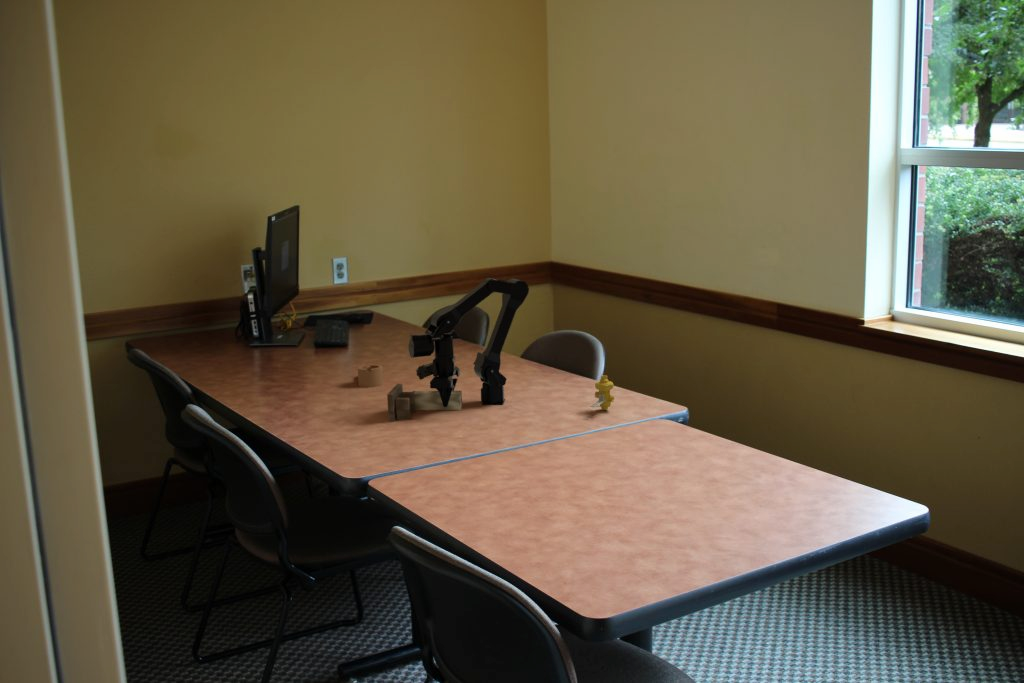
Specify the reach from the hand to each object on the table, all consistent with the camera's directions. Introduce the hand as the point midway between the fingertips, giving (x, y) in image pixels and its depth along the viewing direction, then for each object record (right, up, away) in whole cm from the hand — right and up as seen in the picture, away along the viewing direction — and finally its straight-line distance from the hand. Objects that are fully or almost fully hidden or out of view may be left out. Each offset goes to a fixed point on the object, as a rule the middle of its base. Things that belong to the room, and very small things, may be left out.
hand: (446, 405), depth 300 cm
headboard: (-12, -3, -7) cm, 14 cm away
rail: (-2, -1, 0) cm, 3 cm away
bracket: (-28, +4, +38) cm, 47 cm away
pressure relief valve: (+46, -2, -10) cm, 47 cm away
